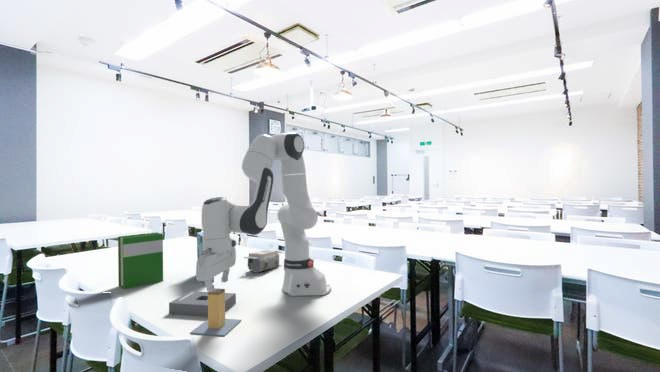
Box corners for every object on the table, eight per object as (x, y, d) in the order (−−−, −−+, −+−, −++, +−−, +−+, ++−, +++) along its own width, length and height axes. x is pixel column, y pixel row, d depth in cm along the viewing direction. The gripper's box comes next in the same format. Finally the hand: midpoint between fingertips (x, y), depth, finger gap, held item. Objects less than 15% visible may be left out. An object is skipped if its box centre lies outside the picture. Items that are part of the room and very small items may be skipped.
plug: (225, 323, 112) (224, 288, 112) (219, 328, 108) (218, 292, 108) (214, 322, 113) (214, 288, 113) (208, 327, 109) (207, 292, 109)
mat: (241, 320, 115) (241, 319, 115) (224, 336, 103) (224, 335, 103) (210, 318, 117) (210, 317, 117) (190, 333, 106) (190, 332, 106)
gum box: (214, 281, 163) (213, 236, 163) (203, 283, 161) (203, 236, 160) (206, 273, 180) (206, 231, 180) (196, 274, 177) (196, 232, 177)
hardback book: (123, 289, 152) (123, 238, 152) (118, 286, 157) (118, 236, 157) (163, 281, 165) (162, 233, 165) (157, 278, 170) (156, 232, 170)
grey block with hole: (235, 303, 133) (235, 292, 133) (218, 316, 119) (218, 305, 119) (191, 300, 136) (191, 290, 136) (169, 313, 123) (169, 302, 123)
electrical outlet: (239, 272, 177) (240, 254, 178) (268, 264, 203) (269, 248, 204) (257, 274, 173) (258, 255, 173) (285, 266, 199) (285, 249, 200)
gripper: (208, 252, 100) (210, 297, 100) (238, 240, 120) (239, 277, 120) (189, 252, 101) (191, 296, 101) (222, 240, 121) (223, 277, 121)
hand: (218, 286), depth 111 cm, fingers open, 8 cm apart
